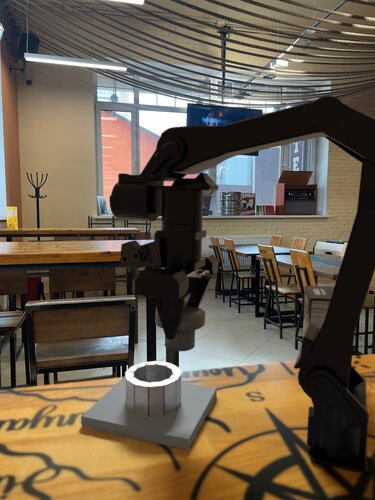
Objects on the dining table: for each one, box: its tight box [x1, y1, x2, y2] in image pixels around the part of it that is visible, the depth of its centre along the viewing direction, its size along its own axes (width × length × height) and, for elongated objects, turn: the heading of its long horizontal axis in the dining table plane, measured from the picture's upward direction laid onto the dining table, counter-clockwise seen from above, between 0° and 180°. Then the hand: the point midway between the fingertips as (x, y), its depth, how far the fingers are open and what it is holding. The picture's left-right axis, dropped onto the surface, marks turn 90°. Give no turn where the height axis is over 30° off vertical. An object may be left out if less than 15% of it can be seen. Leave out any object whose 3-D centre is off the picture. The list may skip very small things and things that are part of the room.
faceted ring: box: [124, 360, 182, 417], centre depth 58 cm, size 8×8×4 cm
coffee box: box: [302, 285, 334, 337], centre depth 67 cm, size 9×6×16 cm
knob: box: [154, 305, 206, 352], centre depth 56 cm, size 7×7×5 cm
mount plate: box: [80, 376, 218, 451], centre depth 58 cm, size 16×14×2 cm
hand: (179, 330), depth 56 cm, fingers closed on knob, 7 cm apart
